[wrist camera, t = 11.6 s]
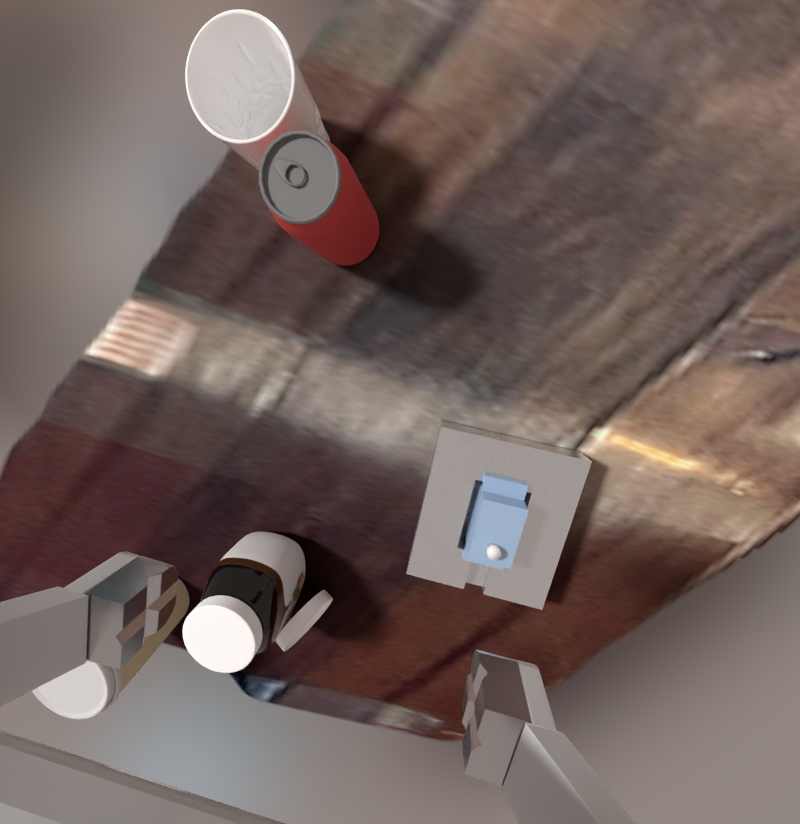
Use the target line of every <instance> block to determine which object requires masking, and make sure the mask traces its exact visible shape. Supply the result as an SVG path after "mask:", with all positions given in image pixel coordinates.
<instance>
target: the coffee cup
mask: <svg viewBox="0 0 800 824" xmlns="http://www.w3.org/2000/svg"><path fill="white" fill-rule="evenodd" d="M172 586H173V588H174V590H175V592H176V594H177V597H176V604H175V607H174V610H173V612H172V614H171V615H170V617H169V619H168V620H167V622H166V624H165V625H164V626H163V627H162V628H161V629H160V630H159V631H158V632H157V633H155V634H152V635H150V636H148V637H145V638H144V643H143V647H142V648H141V649H140V650H139V651H138V652H137V653H136V654H135V655H134V656H133V657H132V658H131V659H130V660H129V661H128V662H127V663H126V664H125V665H124V666H123V667H122V668H121V669H117V668H113V667H109V666H105V665H102V664H98V663H94V662H90V661H86V663H85V664H83V665H81V666H79V667H77V668H75V669H73V670H71V671H69V672H67V673H65V674H63V675H61V676H59V677H57V678H55V679H53V680H51V681H49V682H47V683H45V684H44V685H42V686H40V687H38V688H36V689H34V690H32V692H33V693H34V694H35V696H36V697H37V698H38V699H39V700H40V701H41V702H42V703H43V704H44V705H45V706H46V707H47V708H49V709H50V710H52V711H54V712H55V713H57V714H59V715H62V716H64V717H68V718H73V719H86V718H90V717H93V716H95V715H97V714H98V713H100V712H102V711H104V710H106V709H107V708H108V707H109V706H111V705H112V704H113V702H114V701H115V700H116V699H117V697H118V695H119V693H120V692H121V691H122V690H123V689H124V687H125V686H126V685H127V684H128V683H129V682H130V680H131V679H132V678H133V677H134V676H135V674H136V673H137V672H138V671H139V670H140V669H141V667H142V666H143V665H144V664H145V663H146V661H147V660H148V659H149V658H150V657H151V655H152V654H153V653H154V652H155V651H156V649H157V648H158V647H159V646H160V645H161V643H162V642H163V641H164V640H165V638H166V637H167V636H168V635H169V634H170V632H171V631H172V630H173V629H174V628H175V626H176V625H177V624H178V623H179V621H180V620H181V619H182V618H183V616H184V615H185V614H186V612H187V610H188V607H189V594H188V591H187V588H186V587H185V585H184V583H183V582H182V581H181V580H180V579H179V578H178V580H177V581H176V582H175V583H174V584H173V585H172Z"/></svg>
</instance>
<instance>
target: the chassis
mask: <svg viewBox="0 0 800 824" xmlns="http://www.w3.org/2000/svg"><path fill="white" fill-rule="evenodd" d="M591 463H592V461H591V460H590V459H588V458H587V457H586V456H585V455H583V454H582V453H581V452H580V451H576V450H572V449H567V448H563V447H559V446H554V445H550V444H545V443H541V442H537V441H532V440H528V439H524V438H519V437H515V436H511V435H506V434H502V433H497V432H493V431H489V430H484V429H480V428H476V427H471V426H467V425H462V424H458V423H454V422H449V421H445V420H442V421H441V425H440V429H439V434H438V438H437V442H436V446H435V450H434V455H433V459H432V463H431V467H430V471H429V476H428V480H427V484H426V488H425V492H424V497H423V501H422V505H421V509H420V513H419V518H418V522H417V526H416V530H415V535H414V539H413V543H412V547H411V551H410V556H409V561H408V567H407V573H406V574H409V575H412V576H416V577H420V578H424V579H428V580H431V581H435V582H439V583H443V584H447V585H450V586H454V587H458V588H462V589H464V586H465V582H467V583H471V584H474V585H478V586H482V590H483V594H484V595H488V596H492V597H496V598H500V599H503V600H507V601H511V602H515V603H519V604H522V605H526V606H530V607H534V608H538V609H541V610H542V609H543V606H544V603H545V600H546V597H547V594H548V591H549V588H550V585H551V582H552V579H553V576H554V573H555V570H556V567H557V564H558V561H559V558H560V555H561V552H562V550H563V547H564V544H565V541H566V538H567V535H568V532H569V529H570V526H571V523H572V520H573V517H574V514H575V511H576V508H577V505H578V502H579V499H580V496H581V493H582V490H583V487H584V484H585V481H586V478H587V475H588V472H589V469H590V466H591ZM485 474H489V475H493V476H498V477H502V478H506V479H510V480H514V481H519V482H523V483H527V484H528V489H527V492H526V496H525V499H524V502H525V504H526V506H527V508H528V510H529V511H528V514H527V518H526V521H525V524H524V527H523V531H522V534H521V537H520V540H519V544H518V547H517V550H516V554H515V557H514V560H513V563H512V567H511V569H508V568H504V569H503V570H500V569H496V568H493V567H489V566H485V565H481V564H477V563H473V562H469V561H465V560H463V557H462V556H463V553H464V549H465V545H466V537H465V529H466V525H467V521H468V517H469V514H470V510H471V506H472V503H473V499H474V495H475V491H476V488H477V484H478V480H479V481H483V479H484V475H485Z"/></svg>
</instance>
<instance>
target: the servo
mask: <svg viewBox="0 0 800 824" xmlns="http://www.w3.org/2000/svg"><path fill="white" fill-rule="evenodd" d="M527 489H528V484H527V483H523V482H519V481H514V480H510V479H506V478H502V477H498V476H493V475H489V474H485V475H484V479H483V481H479V480H478V484H477V488H476V491H475V495H474V499H473V503H472V506H471V510H470V514H469V517H468V521H467V525H466V529H465V537H466V545H465V549H464V553H463V556H462V557H463V560H465V561H469V562H473V563H477V564H481V565H485V566H489V567H493V568H496V569H500V570H503V569H504V568H508V569H511V567H512V563H513V560H514V557H515V554H516V550H517V547H518V544H519V540H520V537H521V534H522V531H523V527H524V524H525V521H526V518H527V514H528V511H529V510H528V508H527V506H526V504H525V502H524V499H525V496H526V492H527Z"/></svg>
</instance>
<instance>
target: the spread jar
mask: <svg viewBox="0 0 800 824" xmlns="http://www.w3.org/2000/svg"><path fill="white" fill-rule="evenodd" d="M306 567H307V564H306V557H305V553H304V551H303V548H302V547H301V545H300V544H299V543H298V542H296V541H295V540H293V539H292V538H290V537H287V536H285V535H282V534H279V533H274V532H253V533H250V534H248V535H246V536H245V537H244V538H242V539H241V540H240V541H239V542H238V543H237V544H236V545H235V546H234V547H233V548H231V549H230V550H229V551H228V552H227V553H226V554H225V555H224V557H223V558H222V559H221V560H220V561H219V563H218V564H217V565H216V567H215V568H214V570H213V571H212V573H211V575H210V577H209V579H208V581H207V584H206V586H205V588H204V591H203V594H202V597H201V600H200V603H199V604H198V605H197V606H196V607H195V608H194V609H193V611H192V612H191V613H190V614H189V615H188V616H187V618H186V619H185V622H184V624H183V630H182V631H183V640H184V644H185V646H186V648H187V650H188V652H189V653H190V654H191V656H192V657H193V658H194V659H195V660H196V661H197V662H198V663H200V664H201V665H202V666H204V667H206V668H208V669H210V670H213V671H216V672H221V673H232V672H237V671H239V670H241V669H243V668H245V667H246V666H247V665H248V664H249V663H250V662H251V661H252V659H253V657H254V656H255V654H259V653H262V652H264V651H266V650H267V649H268V648H269V647H270V646H271V645H272V644H273V643H274V641H275V640H276V642H277V644H278V645H279V646H280V647H281V649H282V650H283V651H286V650H288V649H289V648H290V647H291V646H293V645H294V644H295V643H296V642H297V641H298V640H299V639H300V638H301V637H302V636H303V635H304V634H305V633H306V632H307V631H308V630H309V629H310V628H311V627H312V626H313V625H314V623H315V622H316V621H317V620H318V619H319V618H320V617H321V615H322V614H323V613H324V612H325V611H326V609H327V608H328V607H329V605H330V604H331V602H332V600H333V598H332V597H331V596H330V595H329V594H328V593H327V591H326V590H322V591H321V592H319V593H318V594H317V595H315V596H314V597H313V598H312V599H311V600H310V601H309V602H307V603H306V604H305V605H304V606H303V607H302V608H301V609H300V610H299V611H298V612H297V613H296V614H295V616H294V617H293V618H292V619H291V620H290V621H289V622H288V623H287V625H286V626H285V627H284V628H283V626H284V625H285V623H286V621H287V619H288V617H289V616H290V614H291V612H292V610H293V608H294V606H295V604H296V602H297V599H298V597H299V595H300V592H301V589H302V586H303V583H304V579H305V575H306ZM282 628H283V629H282ZM281 630H282V631H281Z"/></svg>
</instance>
